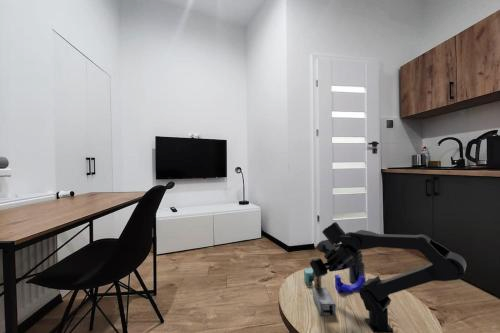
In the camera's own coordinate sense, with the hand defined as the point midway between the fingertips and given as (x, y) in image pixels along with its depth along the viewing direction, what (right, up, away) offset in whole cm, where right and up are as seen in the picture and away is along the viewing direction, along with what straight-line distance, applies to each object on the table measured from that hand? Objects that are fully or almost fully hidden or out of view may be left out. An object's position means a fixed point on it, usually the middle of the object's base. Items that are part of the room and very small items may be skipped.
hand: (321, 272), depth 101 cm
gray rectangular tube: (-1, -10, -6) cm, 12 cm away
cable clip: (+14, -10, +5) cm, 18 cm away
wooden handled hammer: (-1, -9, -1) cm, 10 cm away
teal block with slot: (0, -10, +14) cm, 17 cm away
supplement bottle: (+21, -10, +13) cm, 26 cm away
